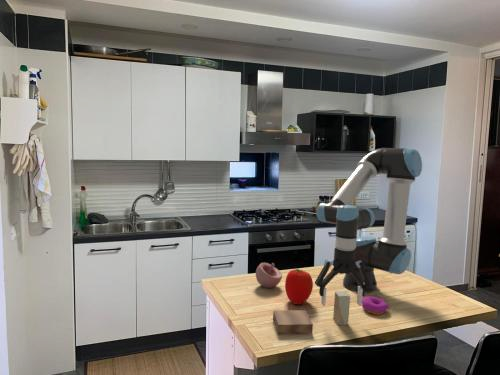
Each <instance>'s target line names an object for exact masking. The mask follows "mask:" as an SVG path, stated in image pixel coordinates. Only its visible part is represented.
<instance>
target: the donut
mask: <svg viewBox="0 0 500 375" xmlns="http://www.w3.org/2000/svg"><path fill="white" fill-rule="evenodd" d="M361 308H363V310H364V311H366V312H368V313H369V314H371V315H375V316H379V315H382V314H384V313H386V312H387V310H389V305H388V303H387V302H385V300H383V299H382V298H380V297H375V296H364V297H362V305H361Z"/></svg>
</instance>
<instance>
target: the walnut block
mask: <svg viewBox="0 0 500 375" xmlns="http://www.w3.org/2000/svg"><path fill="white" fill-rule="evenodd" d="M272 321H273V325H274V326H275V330H276V333H277V335H278V336H279V335H280V336H281V335H282V336H284V335H287V336H290V335H313V328H314V324H313V322H312V320H311V319H310V317H309V315H308V313H307V311H306V310H305V309H304V310H303V309H301V310H300V309H299V310H298V309H297V310H293V309H291V310H286V309H285V310H273V314H272Z"/></svg>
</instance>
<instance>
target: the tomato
mask: <svg viewBox="0 0 500 375" xmlns="http://www.w3.org/2000/svg"><path fill="white" fill-rule="evenodd" d="M284 282H285V284H284V286H285V287H284V290H285V293H286V297H287V299H288V300H289V301H290V302H291V303H292V304H294V305H302V304H303V303H306V301H307V300H308V299H309V298H310V297H311V294H312V292H313V287H314V282H313V278H312V276H311V274H310V273H309V272H307V271H305V270H304V269H299V268H295V269H292V270H289V272H288V273H287V275H286V278H285V281H284Z"/></svg>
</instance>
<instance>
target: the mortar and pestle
mask: <svg viewBox="0 0 500 375" xmlns="http://www.w3.org/2000/svg"><path fill="white" fill-rule="evenodd" d="M275 265H276V264H275V263H273V262H272V263H271V264H270V263H268V262H261V263H260V264H259V265H258V266H257V268H256V270H255V278H256V280H257V282H258V284H259V285H261V286H262V287H264V288H266V289H267V288H269V289H270V288H275V287H277V286H278V285H279V284H280V283H281V281H282V279H283V274H282V273H281V271H280V270H279V269H278V268H276V267H275Z"/></svg>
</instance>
